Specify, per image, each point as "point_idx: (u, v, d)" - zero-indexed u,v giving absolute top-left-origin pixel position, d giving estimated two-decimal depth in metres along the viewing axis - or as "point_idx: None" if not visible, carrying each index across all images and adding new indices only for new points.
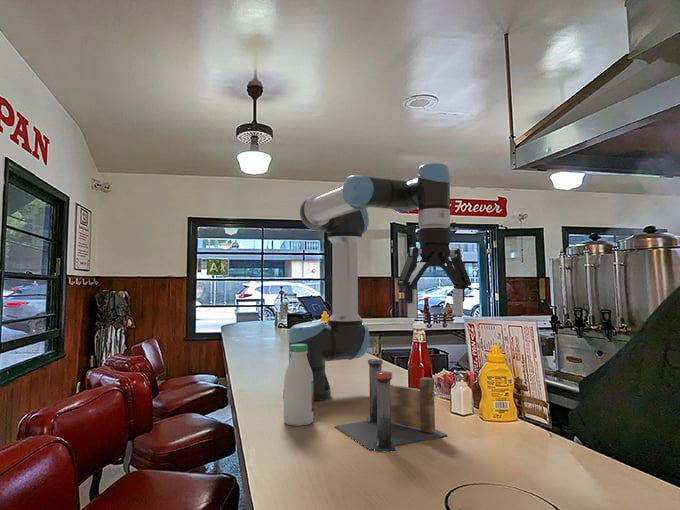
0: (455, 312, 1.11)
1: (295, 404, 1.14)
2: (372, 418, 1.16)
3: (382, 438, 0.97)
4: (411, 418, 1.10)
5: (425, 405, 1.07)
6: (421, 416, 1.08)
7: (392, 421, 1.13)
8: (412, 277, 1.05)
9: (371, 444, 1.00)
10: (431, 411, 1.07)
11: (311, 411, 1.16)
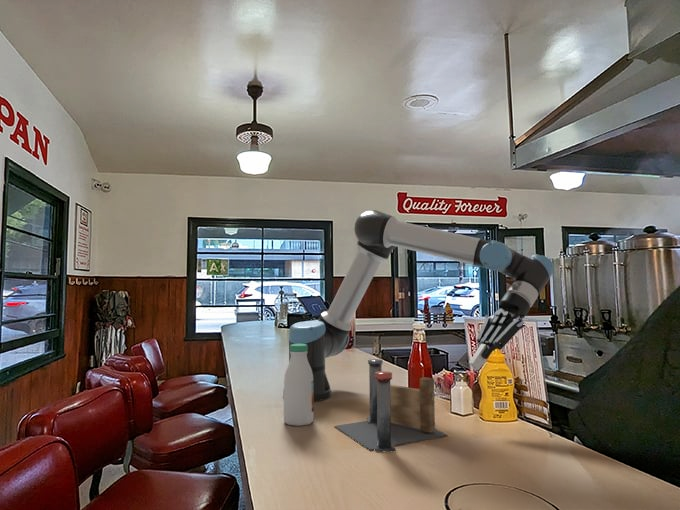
0: None
1: (295, 404, 1.14)
2: (372, 418, 1.16)
3: (382, 438, 0.97)
4: (411, 418, 1.10)
5: (425, 405, 1.07)
6: (421, 416, 1.08)
7: (392, 421, 1.13)
8: None
9: (371, 444, 1.00)
10: (431, 411, 1.07)
11: (311, 411, 1.16)
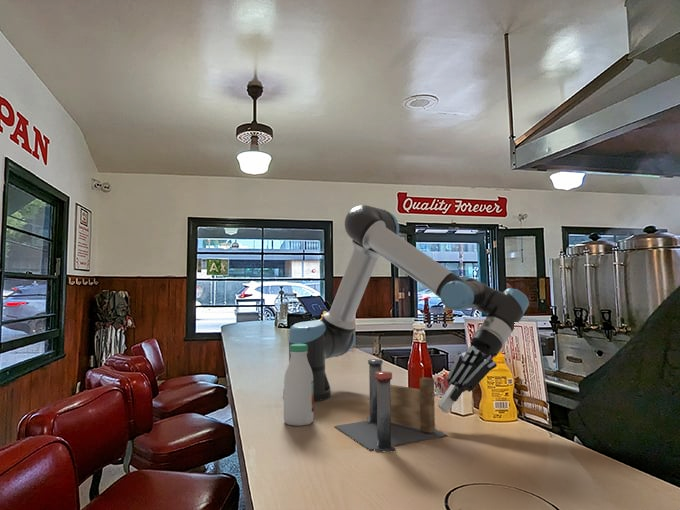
0: None
1: (295, 404, 1.14)
2: (372, 418, 1.16)
3: (382, 438, 0.97)
4: (411, 418, 1.10)
5: (425, 405, 1.07)
6: (421, 416, 1.08)
7: (392, 421, 1.13)
8: None
9: (371, 444, 1.00)
10: (431, 411, 1.07)
11: (311, 411, 1.16)
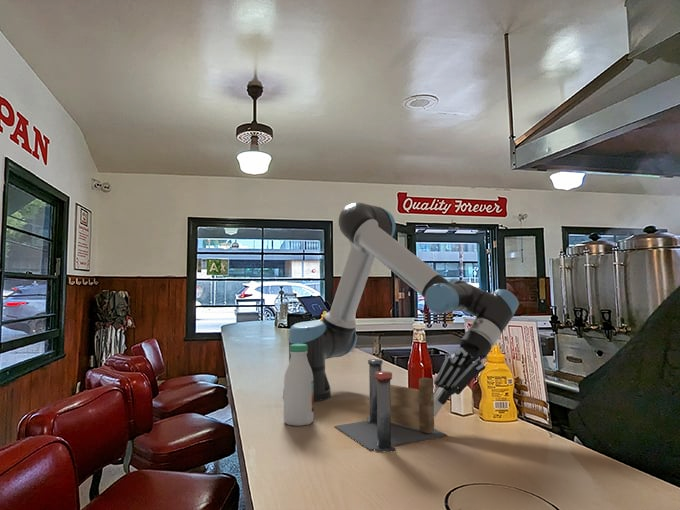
0: None
1: (295, 404, 1.14)
2: (372, 418, 1.16)
3: (382, 438, 0.97)
4: (410, 418, 1.10)
5: (424, 405, 1.07)
6: (420, 416, 1.08)
7: (392, 421, 1.13)
8: None
9: (371, 444, 1.00)
10: (430, 411, 1.07)
11: (311, 411, 1.16)
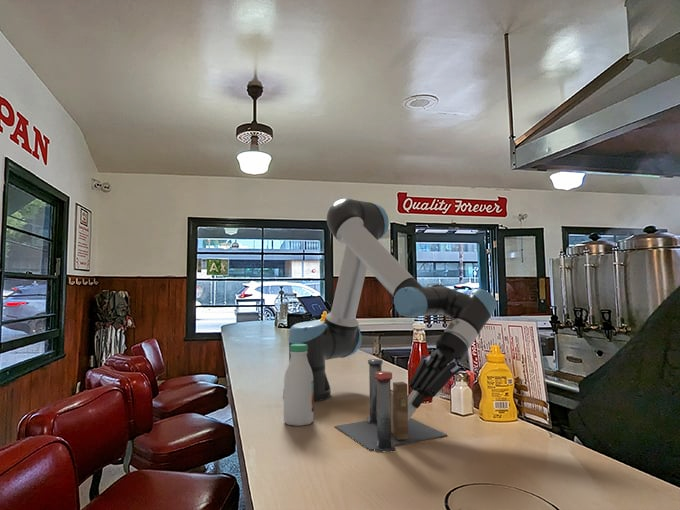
0: None
1: (295, 404, 1.14)
2: (372, 418, 1.16)
3: (382, 438, 0.97)
4: None
5: (395, 410, 1.03)
6: (393, 421, 1.04)
7: None
8: None
9: (371, 444, 1.00)
10: (401, 418, 1.02)
11: (311, 411, 1.16)
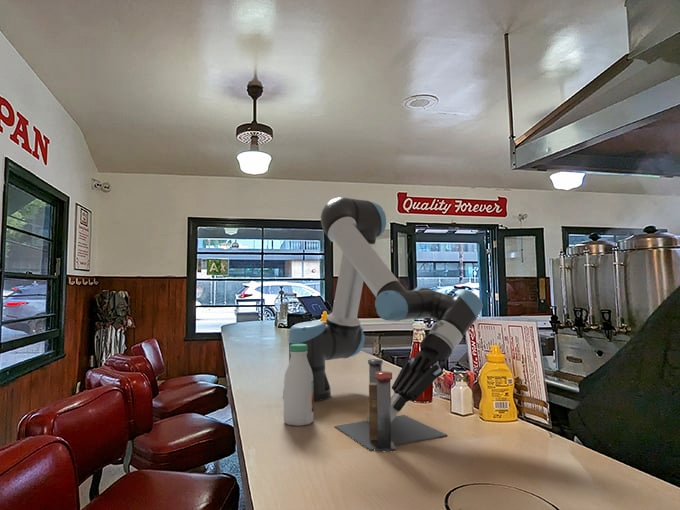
0: None
1: (295, 404, 1.14)
2: None
3: (382, 438, 0.97)
4: None
5: None
6: None
7: None
8: None
9: (371, 444, 1.00)
10: (373, 418, 1.02)
11: (311, 411, 1.16)
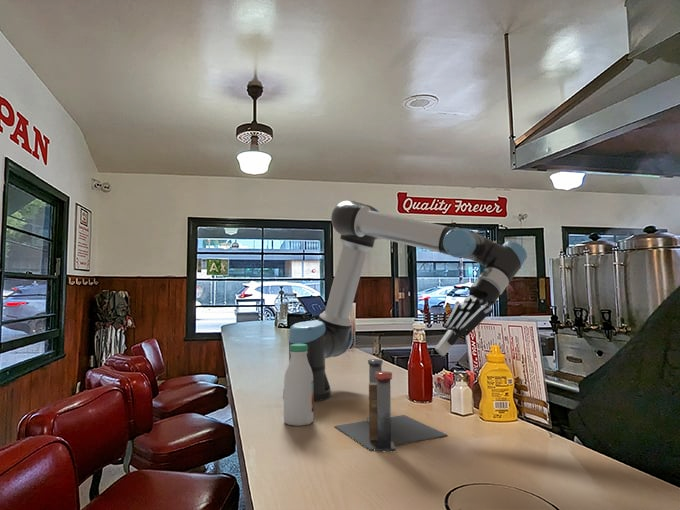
0: None
1: (295, 404, 1.14)
2: None
3: (382, 438, 0.97)
4: None
5: None
6: None
7: None
8: None
9: (371, 444, 1.00)
10: (373, 418, 1.02)
11: (311, 411, 1.16)
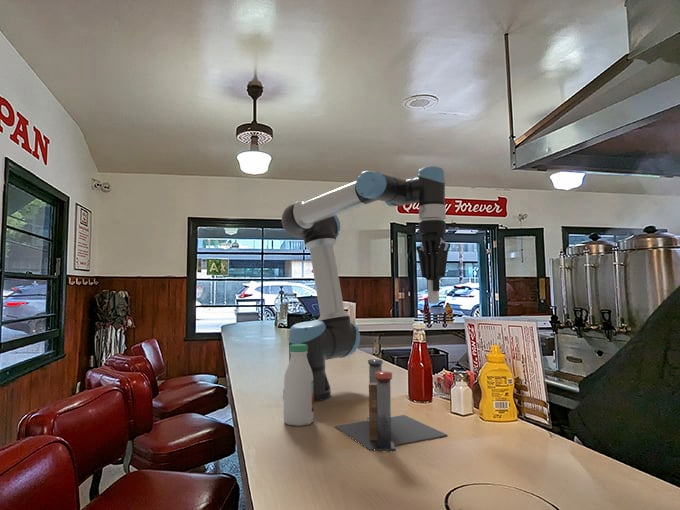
0: None
1: (295, 404, 1.14)
2: None
3: (382, 438, 0.97)
4: None
5: None
6: None
7: None
8: None
9: (371, 444, 1.00)
10: (373, 418, 1.02)
11: (311, 411, 1.16)
